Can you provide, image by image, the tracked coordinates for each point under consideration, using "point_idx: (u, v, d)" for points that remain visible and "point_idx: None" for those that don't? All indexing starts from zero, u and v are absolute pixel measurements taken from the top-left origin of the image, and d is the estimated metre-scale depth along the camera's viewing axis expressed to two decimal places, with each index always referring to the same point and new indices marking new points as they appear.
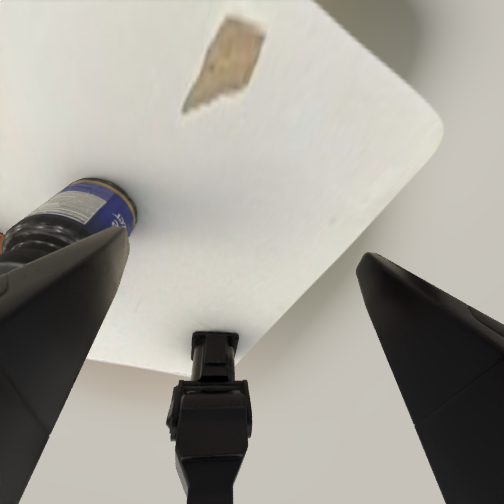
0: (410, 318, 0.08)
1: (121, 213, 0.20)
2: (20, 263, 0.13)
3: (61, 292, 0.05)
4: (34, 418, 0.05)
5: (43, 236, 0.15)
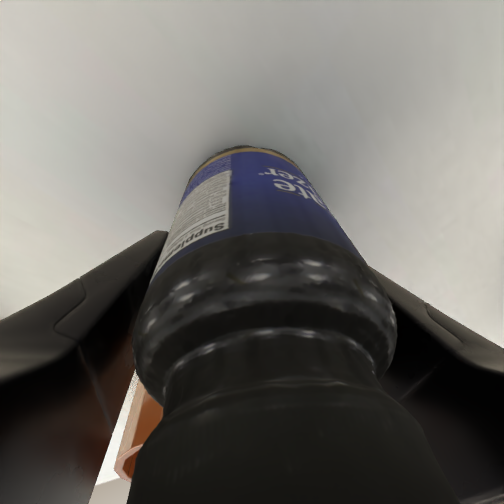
0: None
1: (272, 165, 0.08)
2: None
3: (129, 296, 0.06)
4: (105, 417, 0.05)
5: (174, 341, 0.04)
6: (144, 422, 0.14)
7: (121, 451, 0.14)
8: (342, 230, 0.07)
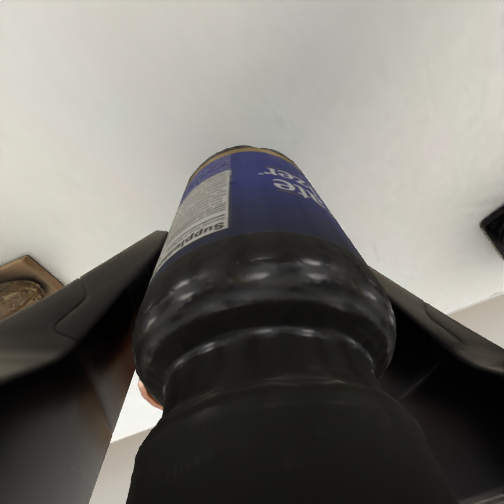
0: None
1: (271, 165, 0.08)
2: None
3: (129, 296, 0.06)
4: (105, 417, 0.05)
5: (173, 340, 0.04)
6: None
7: None
8: (341, 229, 0.07)
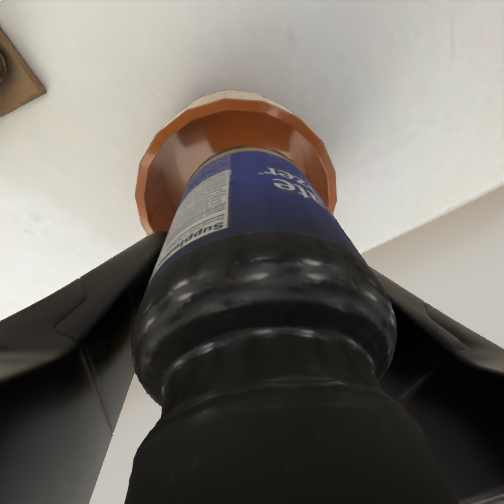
0: None
1: (271, 165, 0.08)
2: None
3: (129, 296, 0.06)
4: (105, 417, 0.05)
5: (172, 341, 0.04)
6: (169, 121, 0.13)
7: None
8: (342, 230, 0.06)
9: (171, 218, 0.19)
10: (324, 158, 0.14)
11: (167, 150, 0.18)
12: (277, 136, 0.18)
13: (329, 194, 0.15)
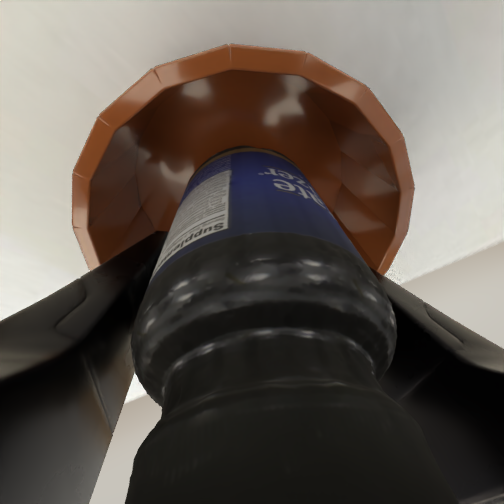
0: None
1: (272, 165, 0.08)
2: None
3: (129, 296, 0.06)
4: (105, 417, 0.05)
5: (173, 341, 0.04)
6: None
7: None
8: (342, 230, 0.06)
9: None
10: (401, 165, 0.08)
11: (140, 149, 0.12)
12: (304, 129, 0.12)
13: (398, 222, 0.09)
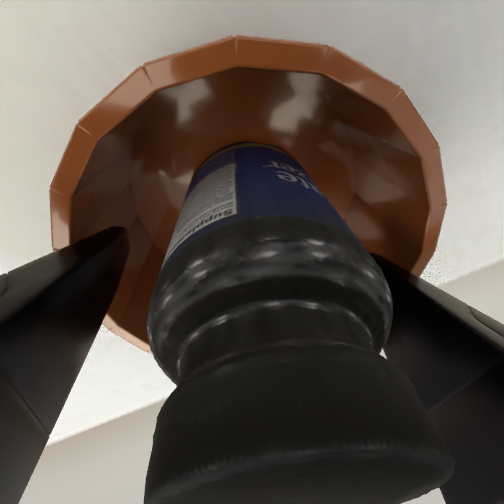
0: (410, 318, 0.08)
1: (274, 159, 0.09)
2: (181, 478, 0.03)
3: (61, 292, 0.05)
4: (34, 418, 0.05)
5: (189, 315, 0.05)
6: None
7: None
8: (341, 218, 0.07)
9: (144, 263, 0.12)
10: (433, 178, 0.07)
11: (134, 156, 0.11)
12: (315, 134, 0.11)
13: (425, 242, 0.08)
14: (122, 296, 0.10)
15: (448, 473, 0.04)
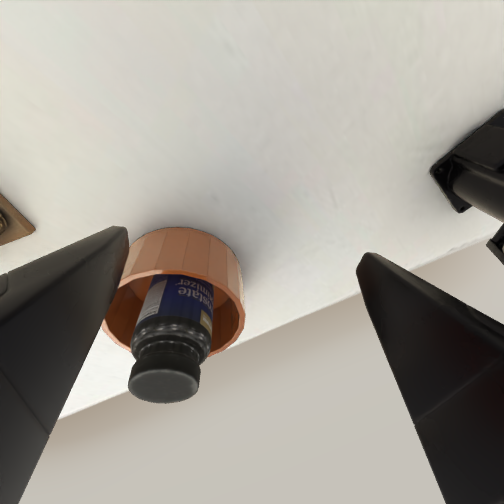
0: (410, 318, 0.08)
1: (183, 277, 0.22)
2: (134, 376, 0.16)
3: (61, 292, 0.05)
4: (34, 418, 0.05)
5: (141, 343, 0.18)
6: None
7: None
8: (199, 307, 0.20)
9: (131, 310, 0.25)
10: (230, 294, 0.20)
11: None
12: None
13: (239, 311, 0.21)
14: (121, 328, 0.23)
15: (192, 379, 0.17)
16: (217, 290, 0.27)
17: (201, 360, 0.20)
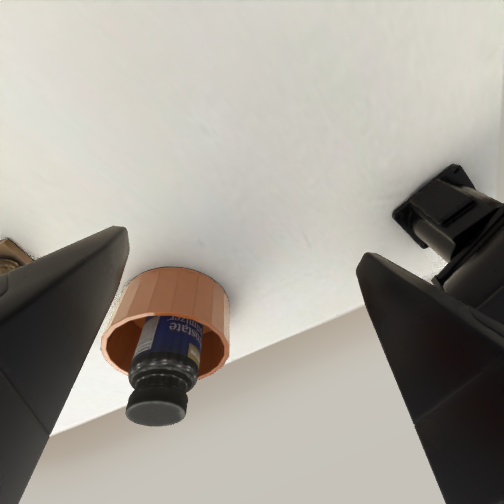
0: (410, 318, 0.08)
1: None
2: (130, 406, 0.19)
3: (61, 292, 0.05)
4: (34, 418, 0.05)
5: (136, 376, 0.21)
6: (119, 313, 0.22)
7: (104, 332, 0.22)
8: (187, 341, 0.23)
9: (131, 337, 0.28)
10: (214, 330, 0.23)
11: None
12: None
13: (223, 342, 0.24)
14: (122, 356, 0.26)
15: (179, 407, 0.20)
16: None
17: (189, 388, 0.23)
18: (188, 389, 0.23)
